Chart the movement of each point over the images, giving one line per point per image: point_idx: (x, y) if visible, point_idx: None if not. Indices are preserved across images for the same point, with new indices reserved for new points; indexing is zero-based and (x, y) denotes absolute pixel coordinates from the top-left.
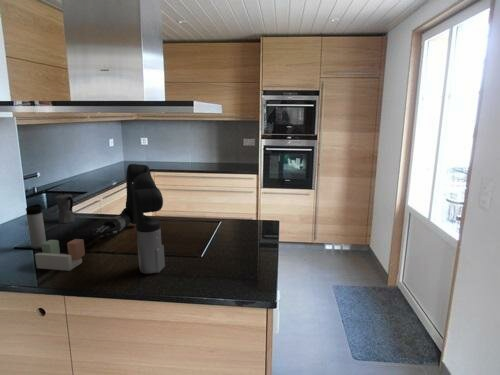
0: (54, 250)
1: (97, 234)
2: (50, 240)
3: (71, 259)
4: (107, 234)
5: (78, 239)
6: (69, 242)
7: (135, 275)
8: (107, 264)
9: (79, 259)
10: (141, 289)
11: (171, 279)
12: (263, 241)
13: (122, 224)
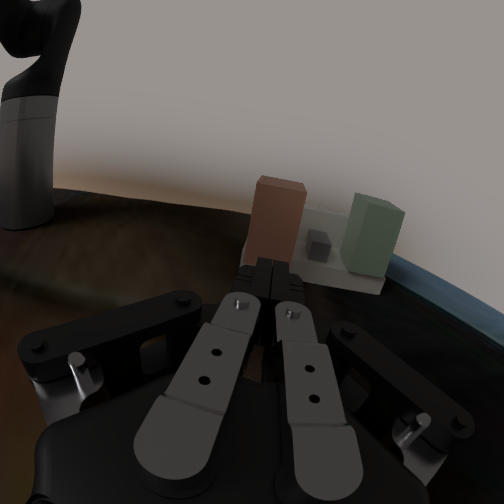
0: (351, 228)
1: (250, 277)
2: (394, 208)
3: None
4: (161, 365)
5: (282, 186)
6: (298, 184)
7: (68, 210)
8: (133, 247)
9: (244, 245)
10: (73, 192)
11: None
12: None
13: None
